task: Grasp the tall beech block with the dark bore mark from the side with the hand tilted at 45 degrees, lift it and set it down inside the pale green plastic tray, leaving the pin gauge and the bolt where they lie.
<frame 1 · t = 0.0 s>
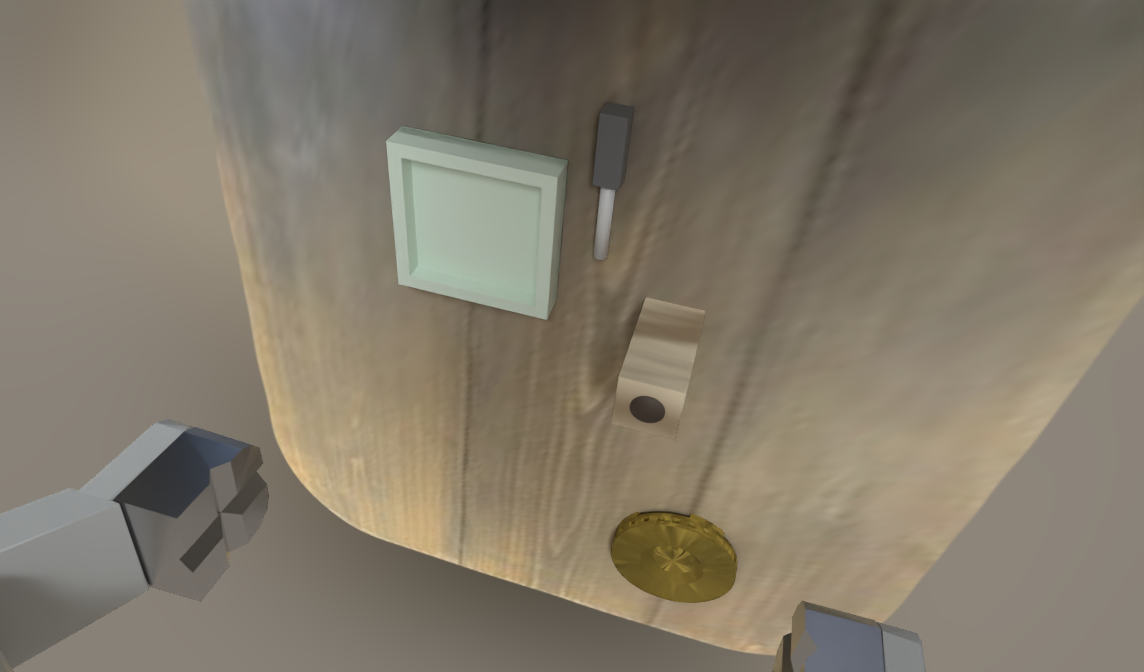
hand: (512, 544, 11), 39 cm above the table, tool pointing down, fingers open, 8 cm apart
pin gauge: (612, 168, 51), on the table
tray: (483, 217, 56), on the table
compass: (676, 545, 75), on the table
bored block: (670, 327, 57), on the table
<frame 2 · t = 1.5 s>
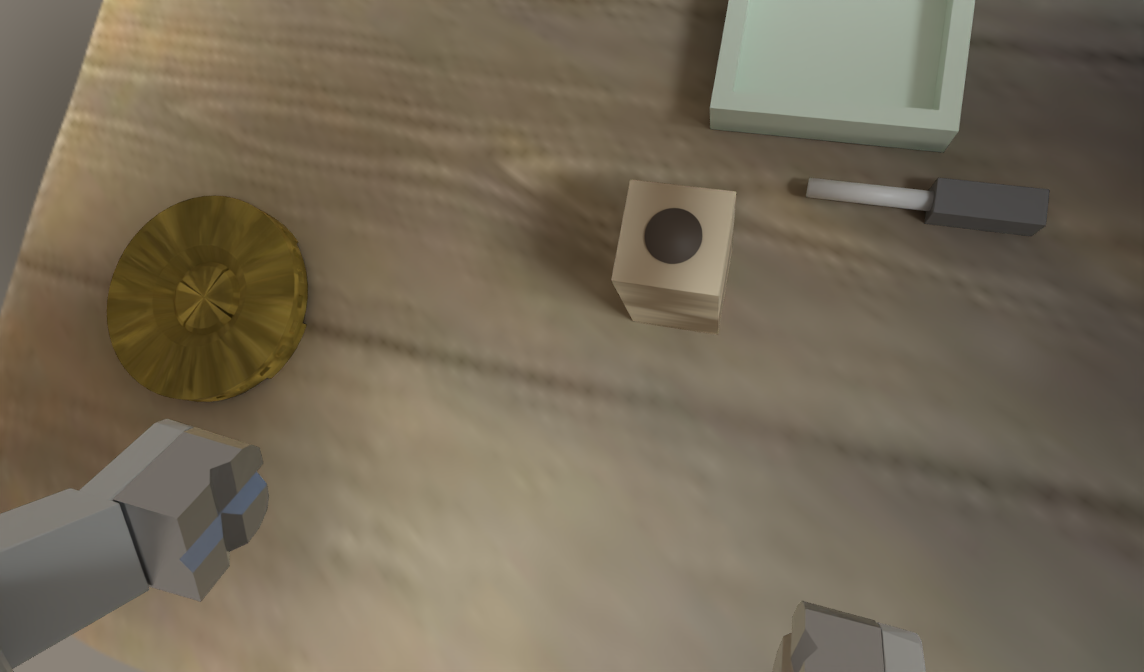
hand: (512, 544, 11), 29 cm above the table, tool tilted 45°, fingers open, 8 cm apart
pin gauge: (936, 208, 39), on the table
tray: (839, 37, 41), on the table
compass: (224, 304, 46), on the table
bored block: (682, 287, 41), on the table
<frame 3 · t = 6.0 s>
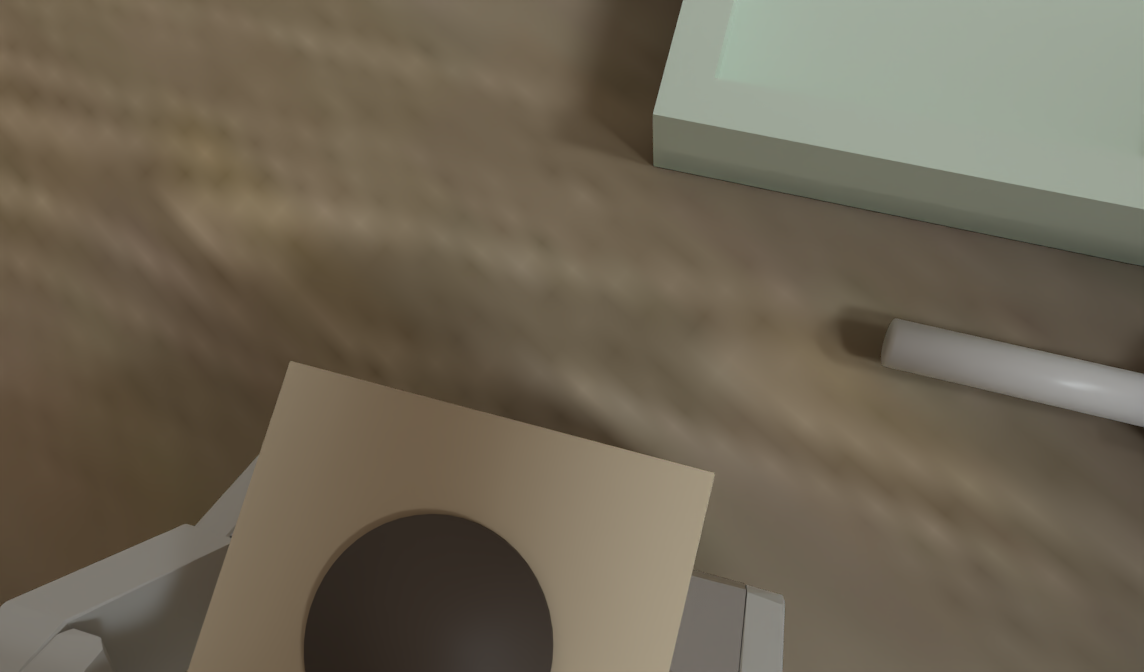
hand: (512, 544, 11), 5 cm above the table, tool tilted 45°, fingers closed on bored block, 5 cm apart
bored block: (550, 556, 16), on the table, touching gripper
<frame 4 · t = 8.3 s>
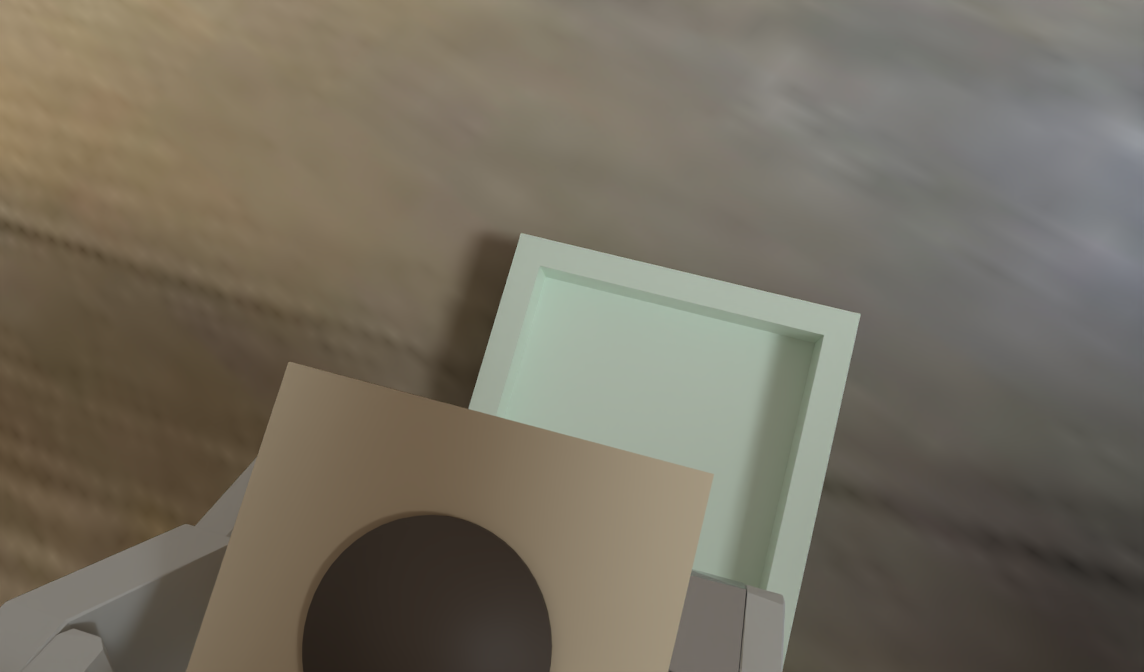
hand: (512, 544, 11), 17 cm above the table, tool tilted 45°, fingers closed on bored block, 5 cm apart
tray: (642, 444, 28), on the table
bored block: (549, 556, 16), point 12 cm above the table, touching gripper
when the fingers open (8 cm above the table, at t = 10.8 s): bored block drops 1 cm, resting on tray.
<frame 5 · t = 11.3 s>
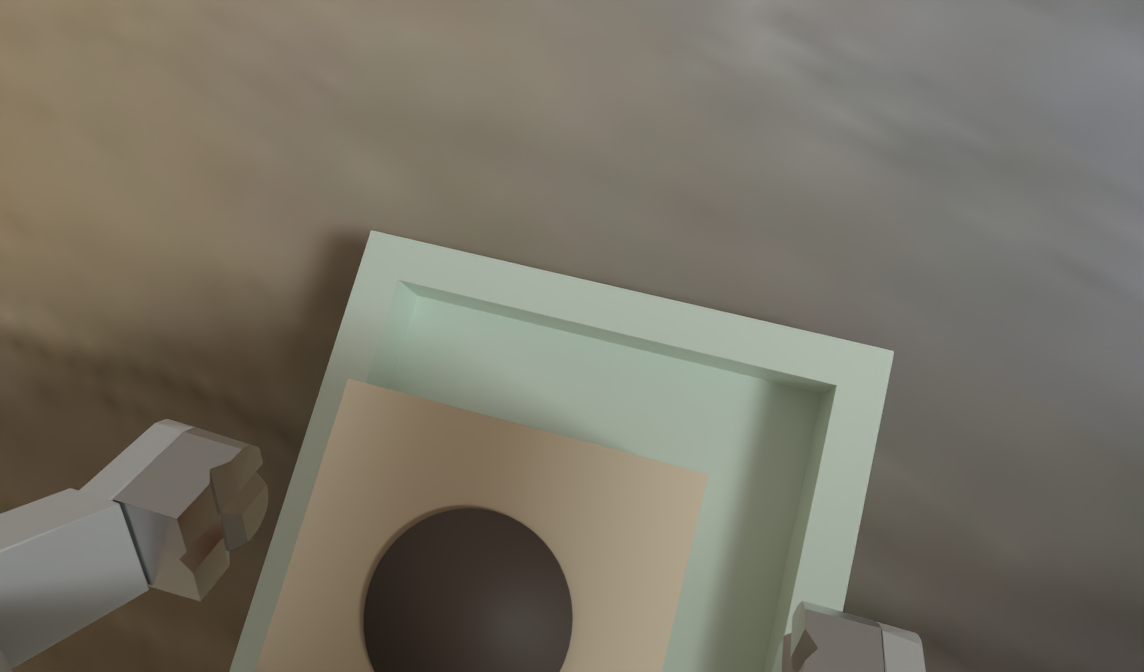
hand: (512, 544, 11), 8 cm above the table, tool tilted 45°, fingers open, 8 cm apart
tray: (562, 546, 18), on the table
bored block: (562, 550, 17), point 1 cm above the table, touching tray
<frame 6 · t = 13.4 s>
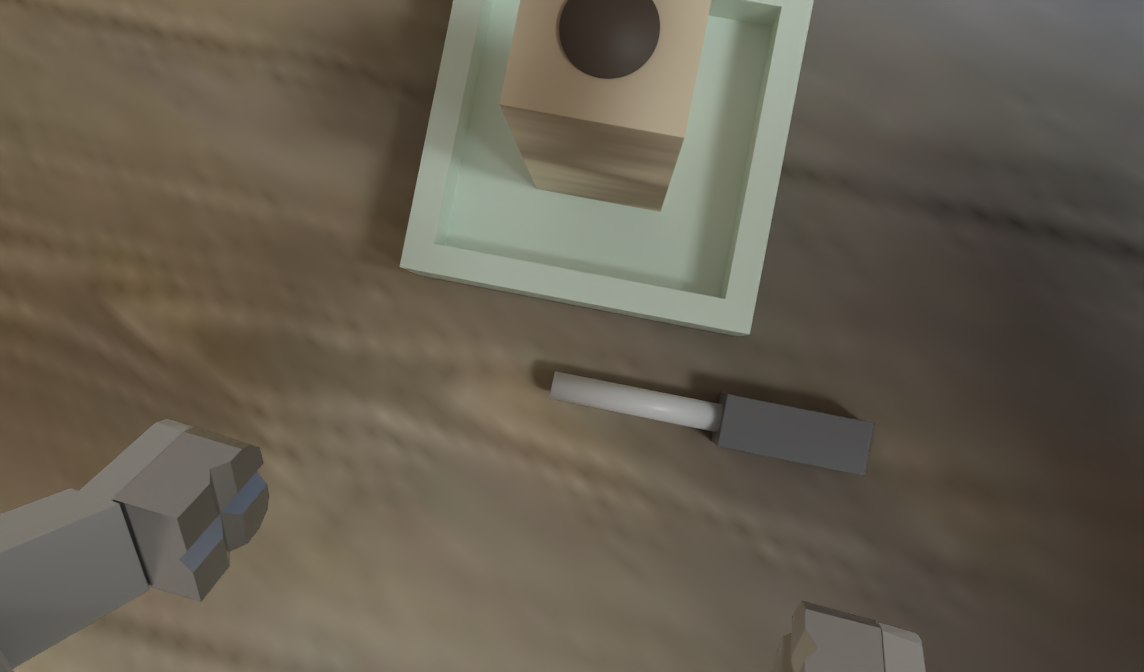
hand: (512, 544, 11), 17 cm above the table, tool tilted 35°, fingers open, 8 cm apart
pin gauge: (729, 419, 28), on the table
tray: (607, 146, 28), on the table
bored block: (610, 138, 27), point 1 cm above the table, touching tray
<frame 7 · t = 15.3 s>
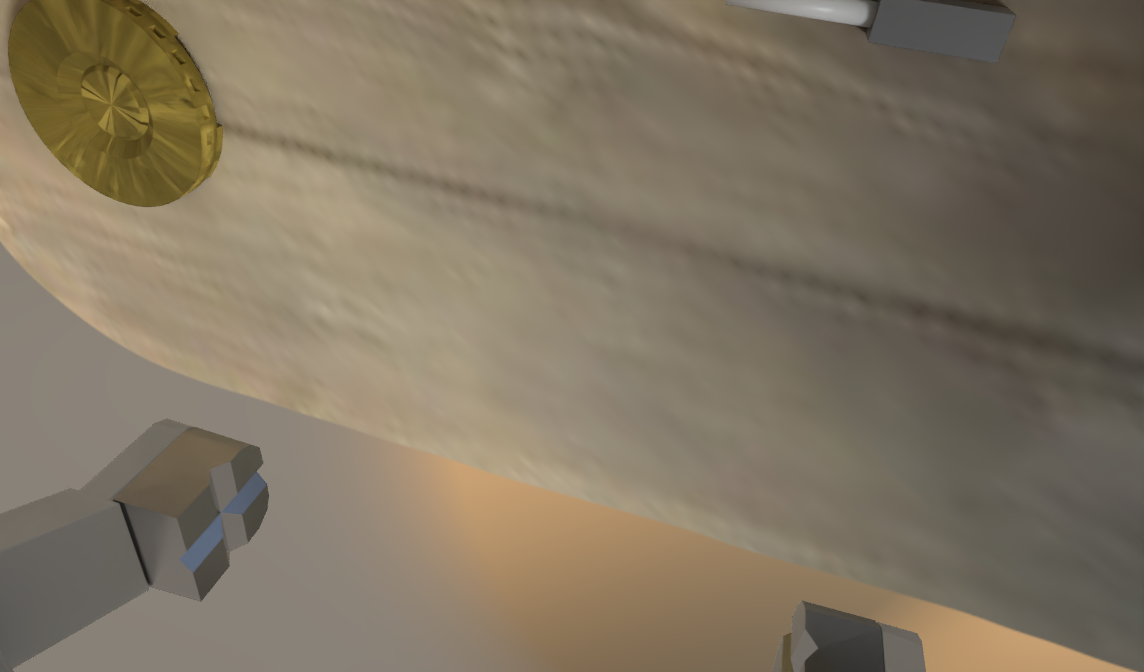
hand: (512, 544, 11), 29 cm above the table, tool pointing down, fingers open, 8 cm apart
pin gauge: (884, 12, 32), on the table
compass: (135, 95, 45), on the table
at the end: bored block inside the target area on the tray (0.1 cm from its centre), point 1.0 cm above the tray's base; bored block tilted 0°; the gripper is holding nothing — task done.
